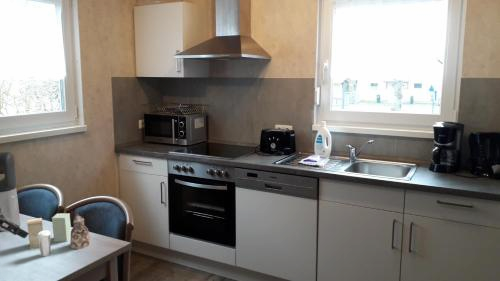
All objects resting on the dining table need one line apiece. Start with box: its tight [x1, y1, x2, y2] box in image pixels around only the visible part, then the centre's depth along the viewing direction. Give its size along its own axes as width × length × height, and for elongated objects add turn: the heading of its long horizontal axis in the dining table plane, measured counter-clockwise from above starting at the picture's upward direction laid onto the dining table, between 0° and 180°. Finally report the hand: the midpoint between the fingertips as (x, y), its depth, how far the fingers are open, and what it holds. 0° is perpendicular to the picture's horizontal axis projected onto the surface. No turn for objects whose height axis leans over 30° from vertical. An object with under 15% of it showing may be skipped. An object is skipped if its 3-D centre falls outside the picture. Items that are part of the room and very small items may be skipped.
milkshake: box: [34, 229, 51, 257], centre depth 152 cm, size 4×5×10 cm
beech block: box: [26, 217, 44, 250], centre depth 160 cm, size 5×5×10 cm
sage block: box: [51, 212, 72, 243], centre depth 165 cm, size 5×5×10 cm
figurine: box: [70, 213, 91, 250], centre depth 160 cm, size 7×7×12 cm
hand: (22, 232), depth 146 cm, fingers open, 8 cm apart
